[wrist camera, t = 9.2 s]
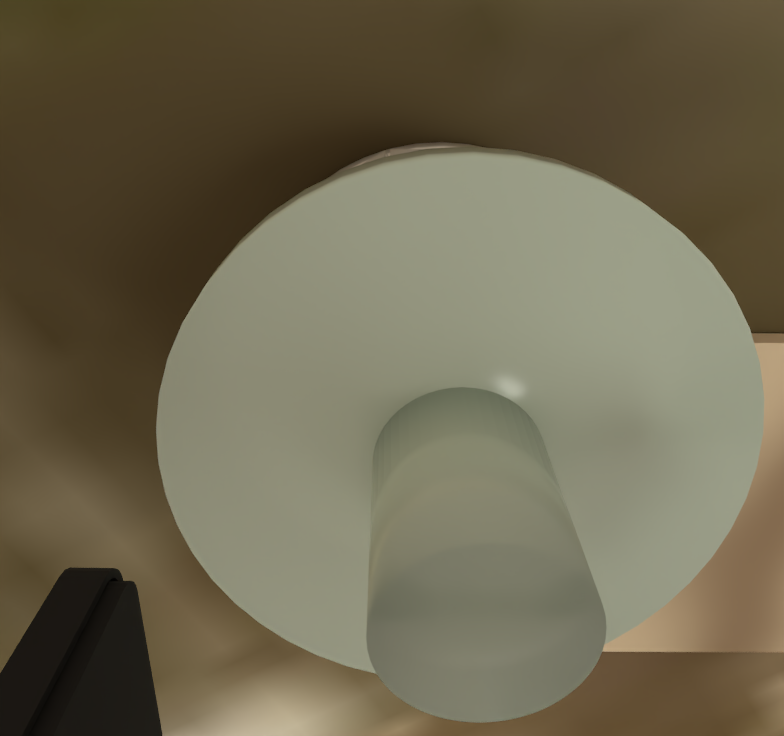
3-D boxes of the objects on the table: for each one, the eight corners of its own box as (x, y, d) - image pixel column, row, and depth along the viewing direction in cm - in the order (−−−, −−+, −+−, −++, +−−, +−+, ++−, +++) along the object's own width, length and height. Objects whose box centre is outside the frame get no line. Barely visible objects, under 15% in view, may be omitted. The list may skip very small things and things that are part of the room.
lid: (801, 149, 12) (1062, 236, 7) (683, 645, 16) (798, 891, 12) (134, 142, 12) (-26, 225, 7) (200, 642, 16) (127, 888, 12)
